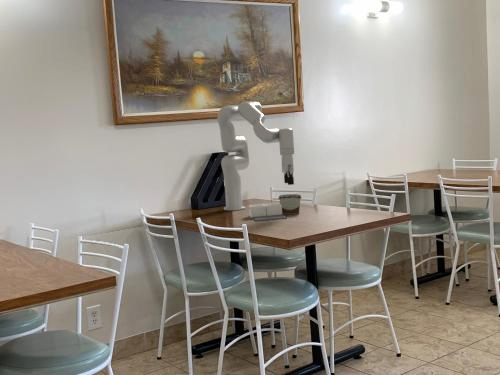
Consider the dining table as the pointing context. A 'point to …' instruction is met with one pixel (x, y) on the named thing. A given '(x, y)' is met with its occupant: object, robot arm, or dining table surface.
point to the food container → (290, 203)
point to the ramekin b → (273, 209)
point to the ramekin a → (257, 210)
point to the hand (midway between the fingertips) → (289, 183)
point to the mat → (269, 217)
